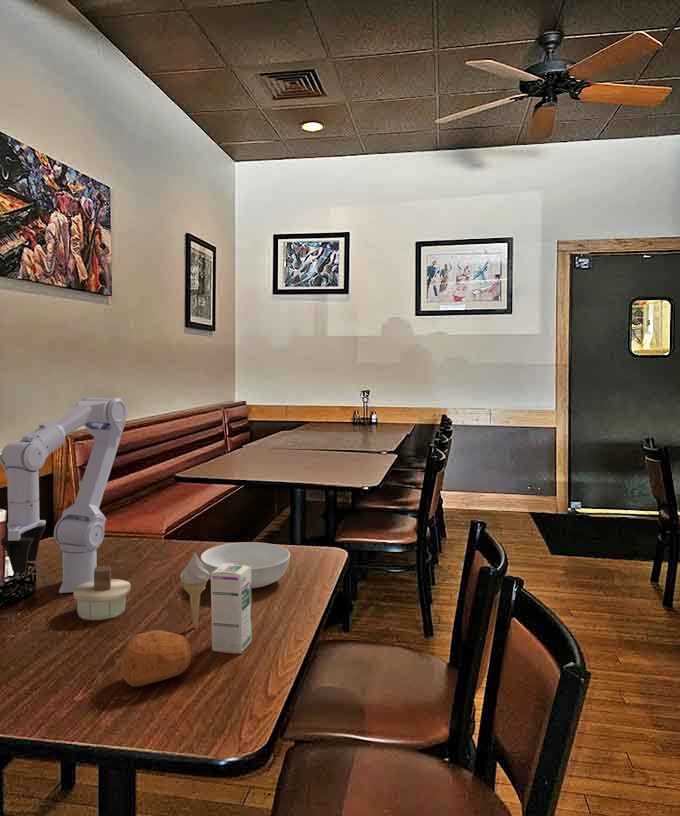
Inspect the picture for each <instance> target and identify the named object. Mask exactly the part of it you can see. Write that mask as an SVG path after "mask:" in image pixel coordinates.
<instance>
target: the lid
mask: <svg viewBox="0 0 680 816" xmlns="http://www.w3.org/2000/svg"><path fill="white" fill-rule="evenodd" d="M111 573H112V568H111V565H105V566H97V567H95V570H94V581H90V582H87V583H84V584H81V585H79V586H77V587H76V588H75V589H74V592H73V598H74V599H75V600H76V601H77V600H79V601H83V602H105V601H111V600H115V599H119V598H122V597H124V596H125V597H126V596H128V595H129V594H130V593H131V590H132V587H131V583H130V582H129V581H127V580H123V579H119V578H117V579H116V578H111V577H112V575H111Z"/></svg>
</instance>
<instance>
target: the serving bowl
mask: <svg viewBox="0 0 680 816" xmlns="http://www.w3.org/2000/svg"><path fill="white" fill-rule="evenodd" d="M199 560H200V562H201V563H202V564H203V565H204V567H205V570H207V571H208V572H209V574H210V575H209V576H208V577H209V579H208V580H210V581H211V573H212V572H213V571H215V570H216V569H217V568H219V567H220V566H222V564H223V563H225V564H227V563H237V564H246V565H250V566H251V589H257V588H261V587H266V586H268V585H272V584H273V583H275V582H277V581H278V580H279V579H281V578H282V577H283V576H284V575H285V573H286V572H287V570H288V568H289V565H290V560H291V553H290V551H289V550H288V549H287V548H286V547H283V546H281V545H277V544H273V543H268V542H258V541H257V542H254V541H251V542H250V541H248V542H247V541H245V542H244V541H243V542H242V541H241V542H233V543H226V544H225V543H223V544H221V545H220V544H219V545H216V546H212V547H211V548H208V549H206V550H204V552H202V553H201V555H200V558H199Z"/></svg>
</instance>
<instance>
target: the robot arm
mask: <svg viewBox="0 0 680 816" xmlns="http://www.w3.org/2000/svg"><path fill="white" fill-rule="evenodd" d="M128 415H129V413H128V409H127V407H126V404H125V402H124V400H123V399H121V398H119V397H113V398H108V397H91V396H85V397H83V398H82V399H81V400H79V401H76V404H75V407H74V408H72V409H70V411H69V412H67V413H66V414H64V416H62V417H61V418H60V419H59V420H58V421H56V422H55V423H54V422H41V423H40V424H38V428H36V429H35V430H33V431H32V432H31V433H28V434H25V435H24V436H22V438H21V439H20V440H19V441H15V440H14V441H10V442H9V443H7V444H6V445H5V446H4V447H3V449H2V451H1V455H0V464H1V466H2V467H3V469H4V476H5V477H6V479H7V480H6V481H7V482H6V483H7V484H6V485H7V514H8V515H7V520H8V521H7V536H5V537H2V538H1V539H0V543H1V546H2V547H3V549H4V550H5V552H6V554H7V556H8V558H9V562H10V567H11V569H12V572H13V574H15V573H16V574H20V573H25V572H26V571H27V566H28V562H36V560H37V557H38V552H39V547H40V543H41V539H42V535H43V534H44V532H45V530H46V526H47V525H46V523H47V521H46V519H42V520H41V519H40V484H39V483H40V477H39V475H40V474H39V469H40V470H41V469H42V467H43V466H44V465H45V462H46V459H47V458H48V457H49V456H50V455H51V454H52V453H53V452H55V451H56V450H57V449H59V448H61V446H63V445H64V444H65V442H66V436H68V435H69V434H71V433H73V432H75V431H76V430H78V429H79V428H81V427H83V426H84V428H85V429H86V430H87V432H88V434H90V435H91V436H92V437H93V438H94V443H93V446H92V449H91V453H90V455H89V458H88V462H87V463H86V464H87V465H86V468H85V471H84V473H83V477H82V480H81V483H80V485H79V490H78V492H77V496H76V498H75V501H74V503H73V504H72V505H71V506H69V507H67V508H65V509H64V510H63V511H62V514H61V517H60V519H59V520H58V521H57V522H56V524H55V526H54V530H53V539H54V540H55V542H56V544H58V545H59V550H61V551H62V553H61V554H62V583H61V585H60V588H59V589H58V593H59V594H65V593H66V594H67V593H74V589H75V588H76V587H77V586H79V585H81V584H84V583H87V582H90V581H94V570H95V567H98V565H97V549H98V548H100V545H101V544H102V542H103V541H104V538H105V525H106V521H107V518H106V516H105V515H104V513H102V511H101V510H100V508H101V507H100V506H101V504H102V500H103V496H104V492H105V490H106V487H107V485H108V484H107V483H108V480H109V477H110V474H111V471H112V467H113V465H114V462H115V458H116V455H117V451H118V448H119V445H120V441H121V437H122V434H123V431H124V428H125V425H126V421H127V418H128Z"/></svg>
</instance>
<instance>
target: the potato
mask: <svg viewBox="0 0 680 816" xmlns="http://www.w3.org/2000/svg"><path fill="white" fill-rule="evenodd" d="M122 651H123V652H122V655H121V658H120V665H121V666H120V668H121V675H122V679H123V681H125V682H126V683H127V684H128V685H129V686H131V687H143V686H146V685H150V684H153V683H156V682H161V681H164V680H167V679H171V678H173V677H176V676H179V675H181V674H183V673H184V672H185V671H186V669H188V668H189V665H190V663H191V660H192V654H193V647H192V644H191V643H190V641H189V639H188V638H187V637H185V636H183V635H181V634H180V633H179V634H178V633H174V632H170V631H165V630H161V629H155V630H150V631H147V632H142V633H138V634H135V635H134V636H133V637H131V639H130V640H129V641H128V642H127V644H126V646H124V649H123V650H122Z"/></svg>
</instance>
